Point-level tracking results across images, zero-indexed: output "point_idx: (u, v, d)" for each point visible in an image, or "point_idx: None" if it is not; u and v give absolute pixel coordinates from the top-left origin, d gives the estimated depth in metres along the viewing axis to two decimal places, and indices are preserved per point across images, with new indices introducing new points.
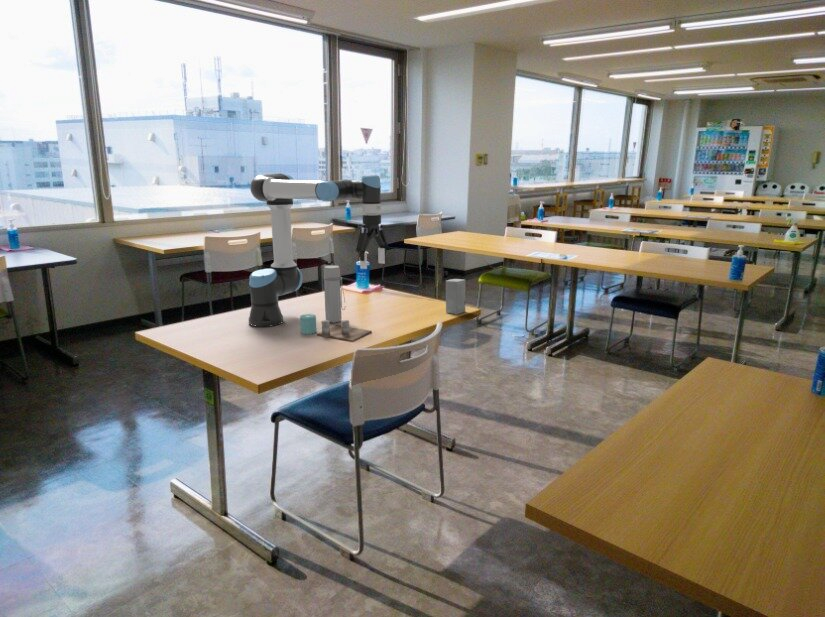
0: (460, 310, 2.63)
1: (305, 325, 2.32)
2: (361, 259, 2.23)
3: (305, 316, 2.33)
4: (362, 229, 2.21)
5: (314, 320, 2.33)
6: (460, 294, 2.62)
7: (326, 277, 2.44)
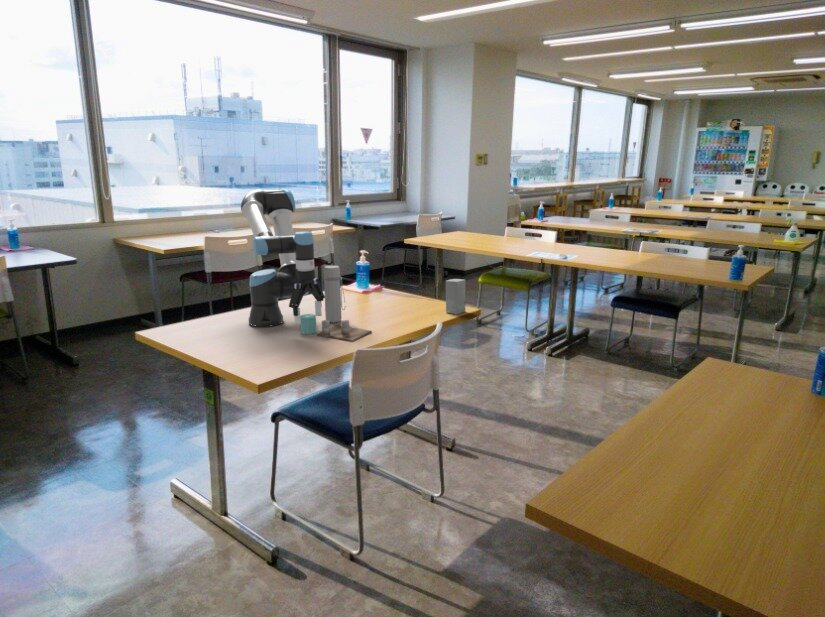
0: (460, 310, 2.63)
1: (305, 325, 2.32)
2: (294, 314, 2.26)
3: (305, 316, 2.33)
4: (295, 285, 2.25)
5: (314, 320, 2.33)
6: (460, 294, 2.62)
7: (326, 277, 2.44)
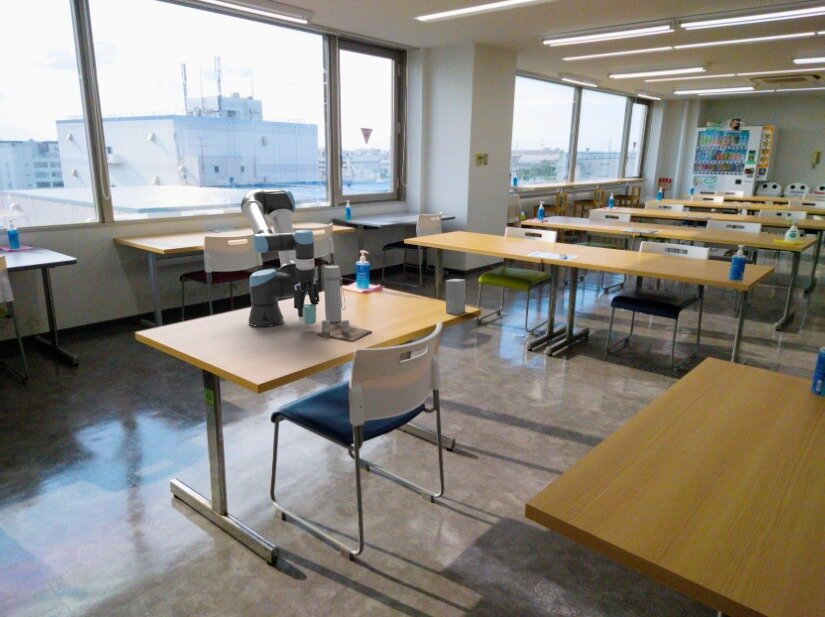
0: (460, 310, 2.63)
1: None
2: (299, 315, 2.30)
3: (304, 306, 2.33)
4: (295, 287, 2.25)
5: (313, 310, 2.33)
6: (460, 294, 2.62)
7: (326, 277, 2.44)
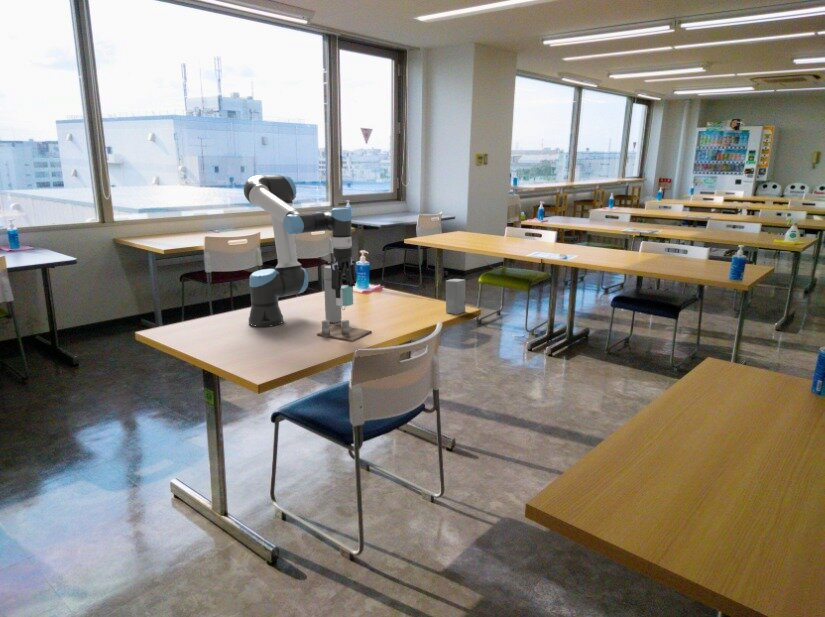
0: (460, 310, 2.63)
1: None
2: (337, 296, 2.21)
3: (342, 287, 2.24)
4: (333, 266, 2.17)
5: (351, 291, 2.24)
6: (460, 294, 2.62)
7: (326, 277, 2.44)
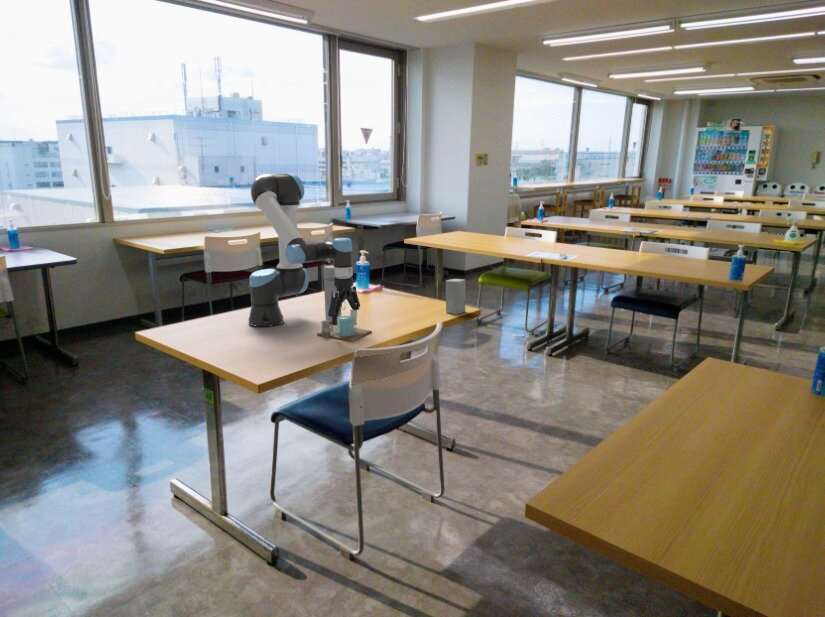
0: (460, 310, 2.63)
1: (343, 327, 2.26)
2: (334, 323, 2.22)
3: (342, 318, 2.28)
4: (334, 293, 2.20)
5: (352, 322, 2.28)
6: (460, 294, 2.62)
7: (326, 277, 2.44)
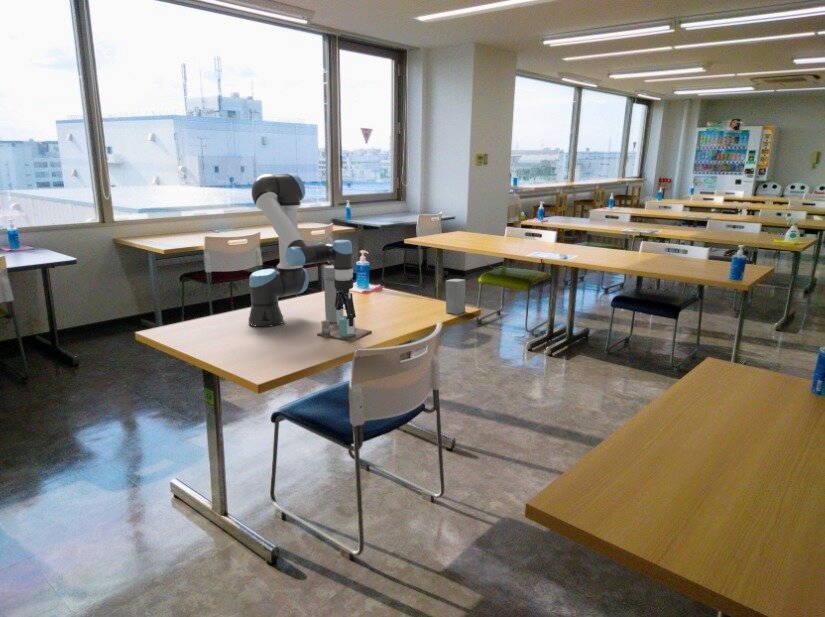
0: (460, 310, 2.63)
1: None
2: (351, 325, 2.21)
3: (345, 318, 2.27)
4: (349, 295, 2.20)
5: None
6: (460, 294, 2.62)
7: (326, 277, 2.44)
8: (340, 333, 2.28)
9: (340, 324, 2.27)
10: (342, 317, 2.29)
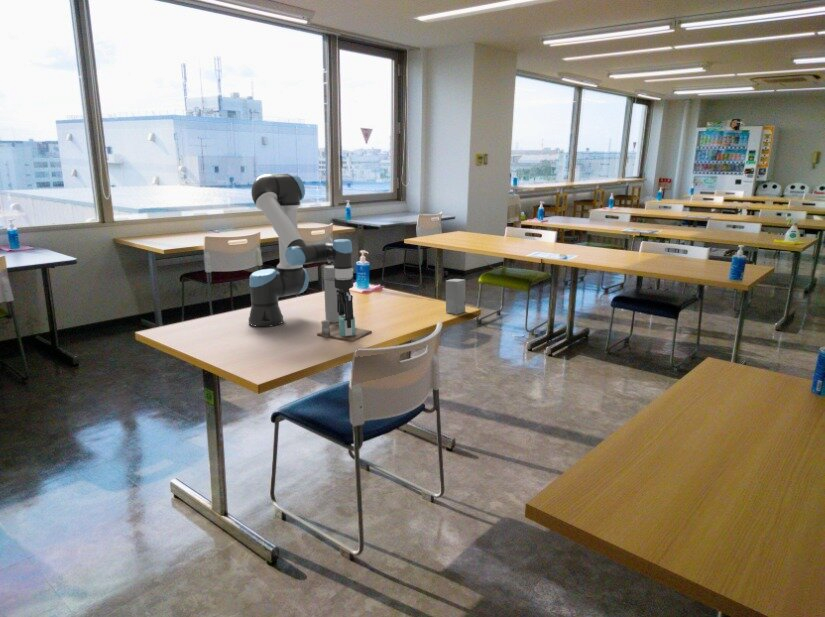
0: (460, 310, 2.63)
1: (353, 326, 2.28)
2: (349, 326, 2.25)
3: None
4: (349, 297, 2.20)
5: None
6: (460, 294, 2.62)
7: (326, 277, 2.44)
8: (344, 334, 2.27)
9: (344, 324, 2.26)
10: (342, 317, 2.28)
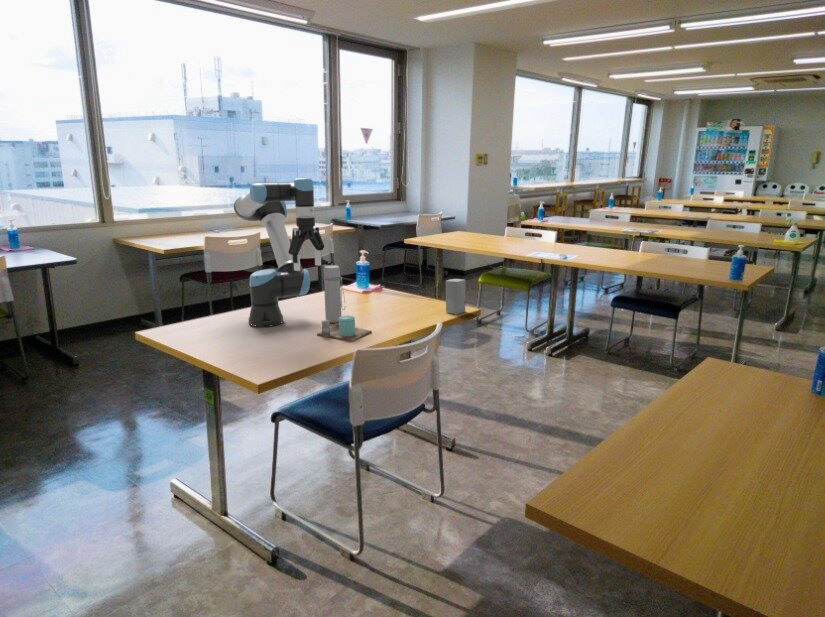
0: (460, 310, 2.63)
1: (353, 326, 2.28)
2: (294, 261, 2.25)
3: (347, 318, 2.28)
4: (295, 231, 2.24)
5: None
6: (460, 294, 2.62)
7: (326, 277, 2.44)
8: (344, 334, 2.27)
9: (344, 324, 2.26)
10: (342, 318, 2.28)
